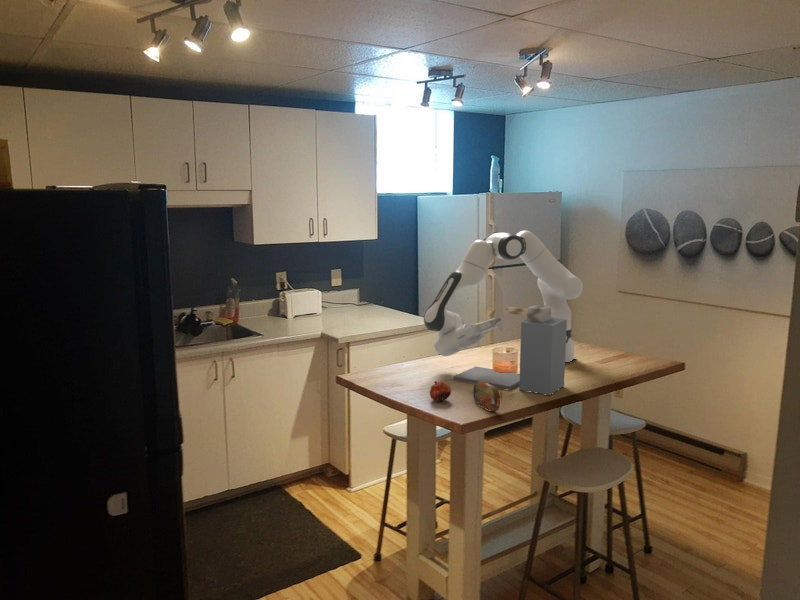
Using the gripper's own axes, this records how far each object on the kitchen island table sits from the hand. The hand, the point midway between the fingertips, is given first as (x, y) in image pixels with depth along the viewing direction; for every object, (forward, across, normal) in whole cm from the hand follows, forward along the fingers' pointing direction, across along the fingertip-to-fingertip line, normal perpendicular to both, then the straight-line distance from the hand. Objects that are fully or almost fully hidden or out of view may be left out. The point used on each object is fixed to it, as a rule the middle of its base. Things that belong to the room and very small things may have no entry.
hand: (495, 321), depth 242 cm
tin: (-1, -31, +27) cm, 41 cm away
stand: (+5, 0, +30) cm, 31 cm away
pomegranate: (-15, -35, +19) cm, 42 cm away
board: (-13, 0, +20) cm, 24 cm away
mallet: (+12, 0, +4) cm, 13 cm away
